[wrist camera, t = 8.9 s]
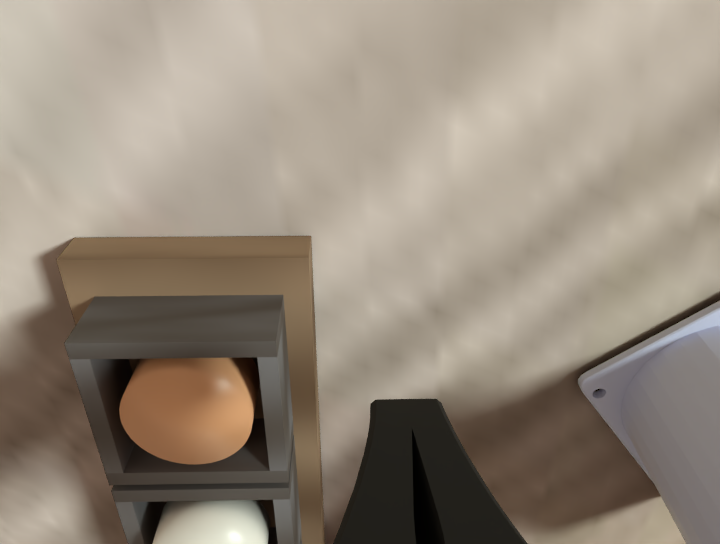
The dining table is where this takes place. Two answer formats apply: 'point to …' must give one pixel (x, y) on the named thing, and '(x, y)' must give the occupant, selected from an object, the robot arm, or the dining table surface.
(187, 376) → the terracotta button
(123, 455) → the button panel
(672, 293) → the dining table surface
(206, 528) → the cream button
